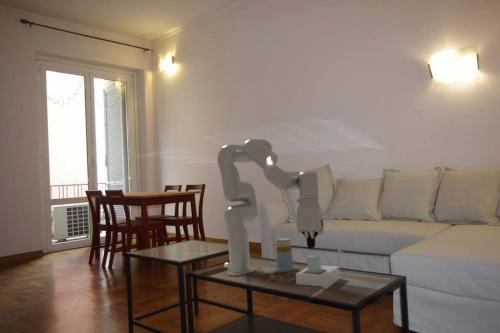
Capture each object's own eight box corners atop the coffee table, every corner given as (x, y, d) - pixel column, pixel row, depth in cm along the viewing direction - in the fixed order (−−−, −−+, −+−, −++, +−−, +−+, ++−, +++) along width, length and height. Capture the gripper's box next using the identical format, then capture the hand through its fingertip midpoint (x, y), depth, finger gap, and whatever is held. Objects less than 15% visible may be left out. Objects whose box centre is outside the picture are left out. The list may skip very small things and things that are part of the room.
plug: (308, 282, 153) (306, 257, 153) (312, 280, 156) (310, 255, 157) (318, 283, 151) (316, 257, 151) (322, 281, 154) (320, 255, 155)
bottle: (292, 273, 173) (290, 240, 174) (276, 274, 175) (274, 240, 175) (293, 270, 180) (291, 237, 181) (278, 270, 181) (276, 238, 182)
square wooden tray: (265, 283, 160) (265, 275, 160) (274, 278, 167) (274, 270, 167) (287, 285, 155) (286, 276, 155) (296, 280, 161) (295, 272, 161)
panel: (296, 286, 152) (295, 273, 153) (312, 276, 166) (311, 264, 166) (325, 289, 146) (324, 275, 146) (340, 278, 160) (339, 265, 160)
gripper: (288, 202, 157) (290, 248, 157) (323, 203, 149) (325, 251, 149) (296, 201, 163) (298, 245, 163) (330, 201, 155) (332, 247, 155)
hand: (311, 247), depth 156 cm, fingers closed
